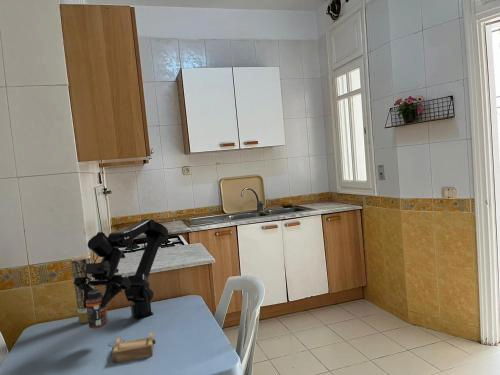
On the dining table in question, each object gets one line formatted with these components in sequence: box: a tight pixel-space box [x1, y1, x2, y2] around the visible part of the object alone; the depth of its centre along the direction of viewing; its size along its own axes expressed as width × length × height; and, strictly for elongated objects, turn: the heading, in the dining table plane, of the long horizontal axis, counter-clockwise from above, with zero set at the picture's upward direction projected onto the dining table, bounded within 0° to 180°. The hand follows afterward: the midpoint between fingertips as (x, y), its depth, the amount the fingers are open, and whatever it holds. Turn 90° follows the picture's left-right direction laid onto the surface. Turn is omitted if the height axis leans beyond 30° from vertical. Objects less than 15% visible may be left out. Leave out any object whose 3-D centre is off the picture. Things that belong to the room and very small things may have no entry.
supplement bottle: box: [86, 289, 109, 330], centre depth 122 cm, size 6×6×11 cm
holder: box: [111, 330, 157, 364], centre depth 115 cm, size 11×13×3 cm
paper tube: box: [71, 254, 95, 324], centre depth 146 cm, size 7×7×25 cm
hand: (93, 307), depth 121 cm, fingers closed on supplement bottle, 6 cm apart
